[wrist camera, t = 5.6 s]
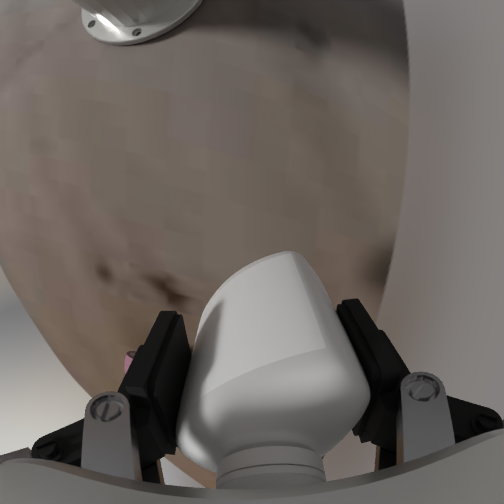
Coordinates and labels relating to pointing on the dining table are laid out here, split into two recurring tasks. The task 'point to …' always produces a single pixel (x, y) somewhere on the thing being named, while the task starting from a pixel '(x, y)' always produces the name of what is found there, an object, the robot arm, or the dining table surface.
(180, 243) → the dining table surface
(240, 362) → the eye dropper bottle
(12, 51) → the dining table surface
